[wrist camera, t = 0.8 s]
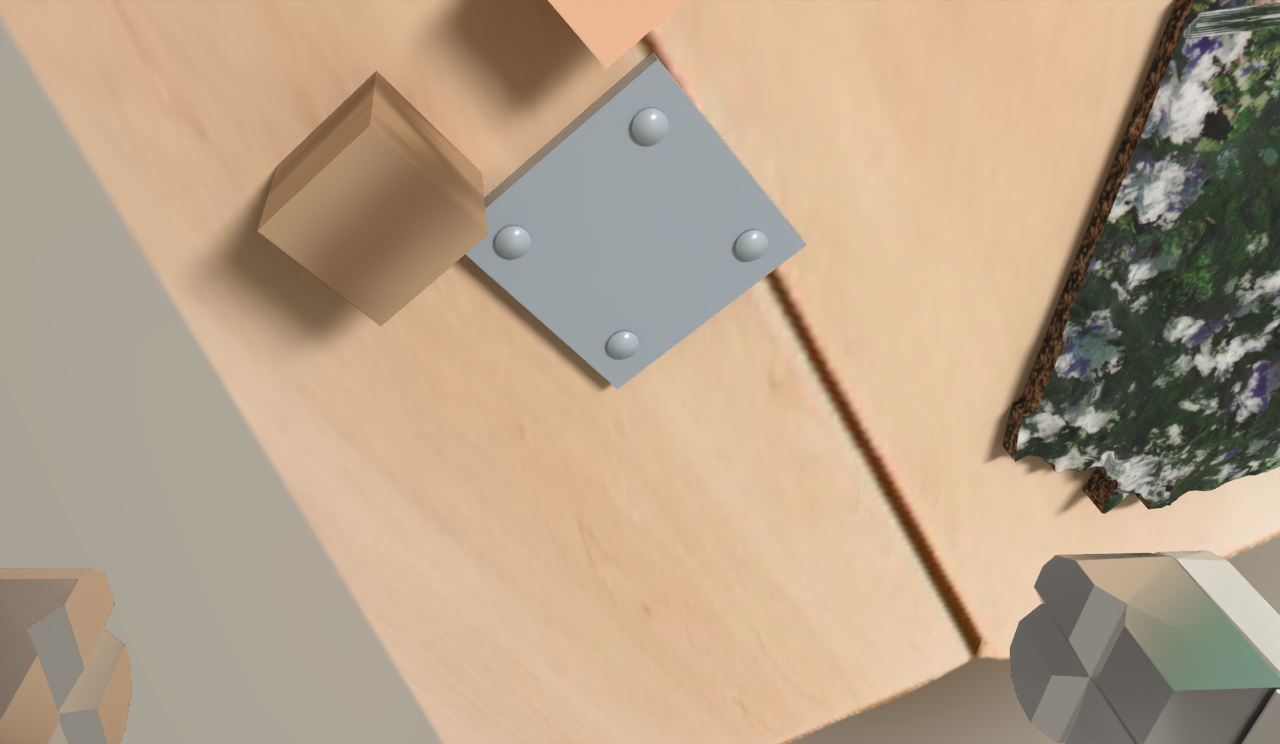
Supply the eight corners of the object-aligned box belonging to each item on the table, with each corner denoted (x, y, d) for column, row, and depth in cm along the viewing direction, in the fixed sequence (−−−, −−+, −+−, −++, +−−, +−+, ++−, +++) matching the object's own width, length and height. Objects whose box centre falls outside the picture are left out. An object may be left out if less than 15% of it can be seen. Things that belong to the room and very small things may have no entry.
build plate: (448, 229, 43) (449, 242, 42) (652, 52, 40) (658, 61, 39) (614, 377, 49) (617, 391, 48) (799, 235, 46) (807, 246, 45)
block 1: (277, 165, 40) (257, 231, 35) (376, 70, 38) (370, 125, 33) (385, 255, 43) (380, 326, 38) (480, 171, 41) (488, 234, 37)
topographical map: (1593, -58, 46) (1657, -44, 43) (1330, 449, 65) (1364, 478, 63) (1101, -3, 42) (1142, 16, 40) (981, 512, 62) (1003, 544, 60)
